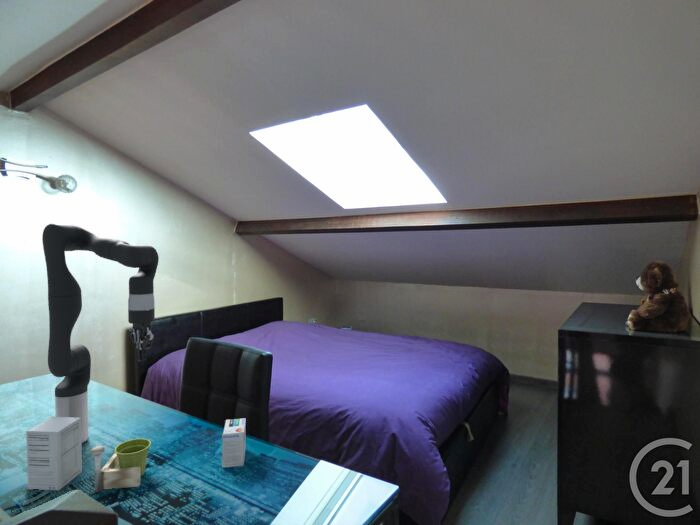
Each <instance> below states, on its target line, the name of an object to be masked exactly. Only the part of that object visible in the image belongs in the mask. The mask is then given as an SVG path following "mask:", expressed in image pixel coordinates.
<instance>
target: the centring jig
mask: <svg viewBox="0 0 700 525" xmlns="http://www.w3.org/2000/svg"><path fill="white" fill-rule="evenodd" d="M105 447H106V446H103V445H98V446H97V445H96V446H94V447H92V448H91V449H90V454H91V456H92V455H94V457H93V458H94V460H93V461H94V463H93V464H94V492H95V493H99V492H102V491H103V490H113V489H112V488H115V489H123V488H125V489H126V488H134V487H135V488H136V487H140V485H141V476H140V467H131V468H120V465H119V459H118V457H117V454H116V453H115V452H114V453H113V455H112V456H111V457H110V458H109V460H108V461H107V462H106V464H105V465H104V466H103V467H102V453H104V452H105V449H106V448H105Z"/></svg>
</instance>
